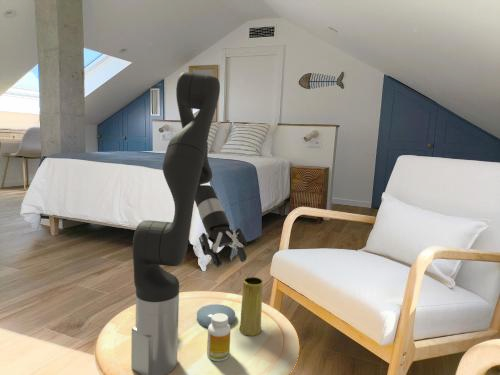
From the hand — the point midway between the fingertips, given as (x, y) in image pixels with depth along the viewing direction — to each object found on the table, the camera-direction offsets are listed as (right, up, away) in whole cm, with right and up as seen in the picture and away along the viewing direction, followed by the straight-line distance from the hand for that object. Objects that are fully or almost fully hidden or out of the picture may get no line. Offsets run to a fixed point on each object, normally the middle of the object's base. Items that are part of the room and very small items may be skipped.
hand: (232, 263), depth 102 cm
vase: (+5, -17, -6) cm, 19 cm away
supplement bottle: (-3, -19, -17) cm, 25 cm away
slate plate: (-5, -16, -1) cm, 16 cm away
